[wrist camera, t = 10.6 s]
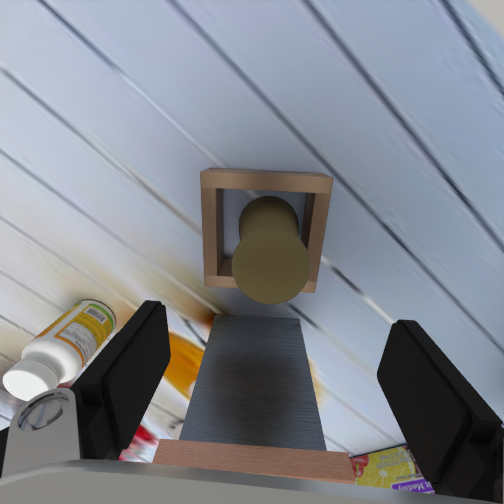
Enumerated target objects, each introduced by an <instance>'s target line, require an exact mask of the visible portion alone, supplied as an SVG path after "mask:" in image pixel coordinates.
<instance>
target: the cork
mask: <svg viewBox="0 0 504 504" xmlns="http://www.w3.org/2000/svg"><path fill="white" fill-rule="evenodd" d="M239 234H240V243H239V244H238V245H237V247H236V250H235V252H234V255H233V258H232V273H233V276H234V279H235V282H236V285H237V286H238V287H239V289H240V290H241V291H242V293H244V294H245V295H246V296H248V297H249V298H251V299H252V300H254V301H257V302H260V303H263V304H278V303H283V302H286V301H288V300H290V299H292V298H294V297H295V296H296V295H297V294H298V293H299V292H300V291H301V290H302V289H303V288H304V286H305V285H306V283H307V281H308V279H309V273H310V266H311V263H310V258H309V253H308V251H307V249H306V248H305V246H304V244H303V243H302V241H301V240H300V239H299V238H298V219H297V214H296V212H295V211H294V209H293V207H292V206H291V205H290V204H289V203H287V202H286V201H285V200H283V199H281V198H278V197H276V196H263V197H260V198H256V199H255V200H253V201H251V202H250V203H248V204H247V206H246V207H245V208H244V209H243V211H242V213H241V216H240V218H239Z"/></svg>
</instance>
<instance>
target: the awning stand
mask: <svg viewBox="0 0 504 504" xmlns="http://www.w3.org/2000/svg"><path fill="white" fill-rule="evenodd" d="M152 463H154V464H165V465H175V466H184V467H194V468H204V469H214V470H223V471H233V472H243V473H252V474H261V475H270V476H280V477H289V478H298V479H307V480H316V481H325V482H335V483H344V484H352V485H355V482H356V479H355V475H354V472H353V468H352V465H351V461H350V457H349V454H348V453H345V452H332V451H327V450H326V445H325V440H324V435H323V431H322V426H321V421H320V416H319V411H318V406H317V402H316V397H315V392H314V387H313V382H312V378H311V373H310V368H309V363H308V358H307V354H306V349H305V344H304V339H303V334H302V330H301V325H300V320H299V319H285V318H269V317H252V316H236V315H220V314H215V318H214V321H213V325H212V328H211V331H210V335H209V338H208V342H207V345H206V349H205V352H204V355H203V359H202V362H201V366H200V369H199V373H198V376H197V379H196V383H195V386H194V390H193V393H192V397H191V400H190V403H189V407H188V410H187V414H186V417H185V420H184V424H183V427H182V431H181V434H180V438H179V440H170V439H160V442H159V444H158V447H157V450H156V453H155V456H154V458H153V461H152Z"/></svg>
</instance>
